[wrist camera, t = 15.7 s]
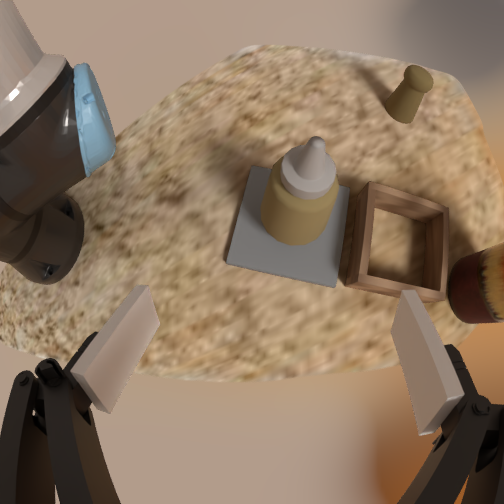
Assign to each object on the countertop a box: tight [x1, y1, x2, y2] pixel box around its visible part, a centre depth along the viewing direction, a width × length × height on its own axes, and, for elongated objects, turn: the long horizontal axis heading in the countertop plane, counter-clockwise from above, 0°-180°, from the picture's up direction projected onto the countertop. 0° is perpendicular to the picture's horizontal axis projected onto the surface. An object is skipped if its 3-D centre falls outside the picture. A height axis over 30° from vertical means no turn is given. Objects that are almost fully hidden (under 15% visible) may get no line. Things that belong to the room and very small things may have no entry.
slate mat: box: [226, 166, 350, 288], centre depth 37 cm, size 14×14×1 cm
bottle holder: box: [345, 181, 449, 303], centre depth 34 cm, size 13×13×5 cm
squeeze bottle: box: [260, 136, 339, 246], centre depth 28 cm, size 8×8×18 cm
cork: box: [385, 65, 433, 124], centre depth 36 cm, size 6×6×11 cm
